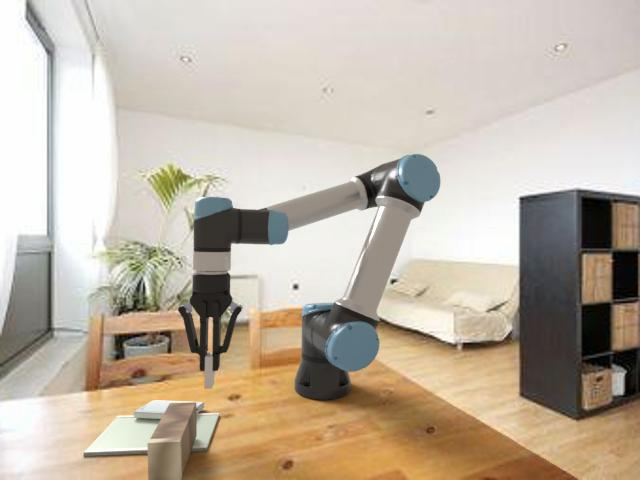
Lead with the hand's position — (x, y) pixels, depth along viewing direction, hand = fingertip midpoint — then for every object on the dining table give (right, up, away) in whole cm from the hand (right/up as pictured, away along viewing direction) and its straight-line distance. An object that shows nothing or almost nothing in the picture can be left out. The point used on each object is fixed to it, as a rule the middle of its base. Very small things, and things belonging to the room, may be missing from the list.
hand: (209, 385), depth 77 cm
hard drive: (-11, -9, +7) cm, 16 cm away
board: (-10, -10, -1) cm, 14 cm away
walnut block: (-4, -5, -4) cm, 8 cm away
